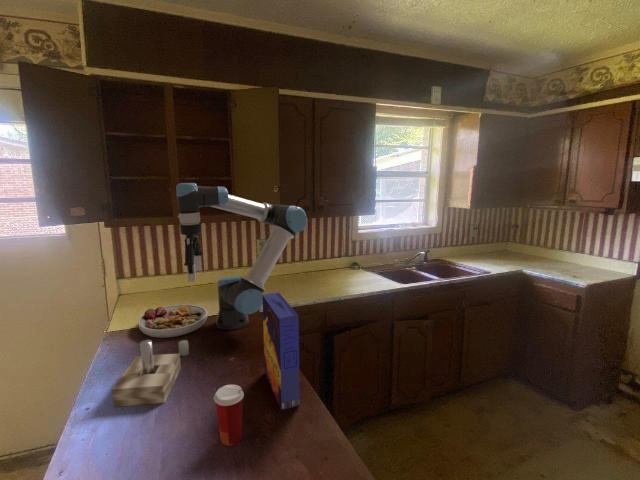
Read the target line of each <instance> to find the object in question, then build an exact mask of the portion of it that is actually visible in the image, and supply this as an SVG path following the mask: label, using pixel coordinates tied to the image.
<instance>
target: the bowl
mask: <svg viewBox="0 0 640 480" xmlns="http://www.w3.org/2000/svg"><path fill="white" fill-rule="evenodd" d="M207 318H208V311H207V309H206V308H204V307H202V306H199V305H195V304H177V305H176V304H175V305H170V306H169V305H168V306H165V307H162V306H157V308H155V309H154V308H149V309H147V310H146V311H144V315H142V316H141V317H140V318H139V320H138V328H139V330H140V331H141V332H142V333H143V334H144V335H146V336H149V337H153V338H160V339H161V338H162V339H163V338H164V339H165V338H174V337H179V336H184V335H187V334H190V333H192V332H195V331H197V330H198V329H199V328H202V326H203V325H204V324H205V323H206V321H207Z"/></svg>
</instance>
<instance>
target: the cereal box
mask: <svg viewBox="0 0 640 480" xmlns="http://www.w3.org/2000/svg"><path fill="white" fill-rule="evenodd" d="M262 298H263V304H262V320H263V321H262V323H263V326H262V328H263V353H264V354H263V355H264V356H263V357H264V374H265V376H266V379H267V381H268V383H269V385H270V387H271V390H272V394H273V395H274V397H275V400H276V402H277V405H278V407H279V408H280V411H283V410H287V409H288V410H289V409H291V408H295V407H299V406H300V401H301V400H300V332H299V330H300V328H299V327H300V326H299V324H300V321H299V318H300V317H299V316H300V315H299V314H298V312H296V310H294V308H292V306H291V305H290V304H289V303H288V301H287V300H286V299H285V298H284V297H283V296H282V294H281V293H280V292H270V293H265V294H264V293H263V294H262Z"/></svg>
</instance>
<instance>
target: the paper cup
mask: <svg viewBox="0 0 640 480" xmlns="http://www.w3.org/2000/svg"><path fill="white" fill-rule="evenodd" d="M244 393H245V392H244V391H243V388H241V386H239V385H237V384H226V385H223V386H221V387H219V388H218V389H217V391H216V392H215V394H214V396H213V401H214V402H215V405H216V406H215V408H216V414H217V415H216V416H217V421H218V430H219V438H220V443H221V444H222V445H224V446H226V447H227V446H229V447H230V446H234V445H237V444H238V443H239V442H240V441H241V439H242V438H243V437H242V435H243V412H244V411H243V409H244V407H243V406H244V405H243V404H244V402H243V401H244V396H245V394H244Z"/></svg>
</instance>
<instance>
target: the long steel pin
mask: <svg viewBox="0 0 640 480" xmlns="http://www.w3.org/2000/svg"><path fill="white" fill-rule="evenodd" d="M139 349H140V356H141V359H142V369H143V375H145V374H155V368H154V357H153V355H154V349H153V341H152V340H151V339H145V340H141V341H140V342H139Z"/></svg>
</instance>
